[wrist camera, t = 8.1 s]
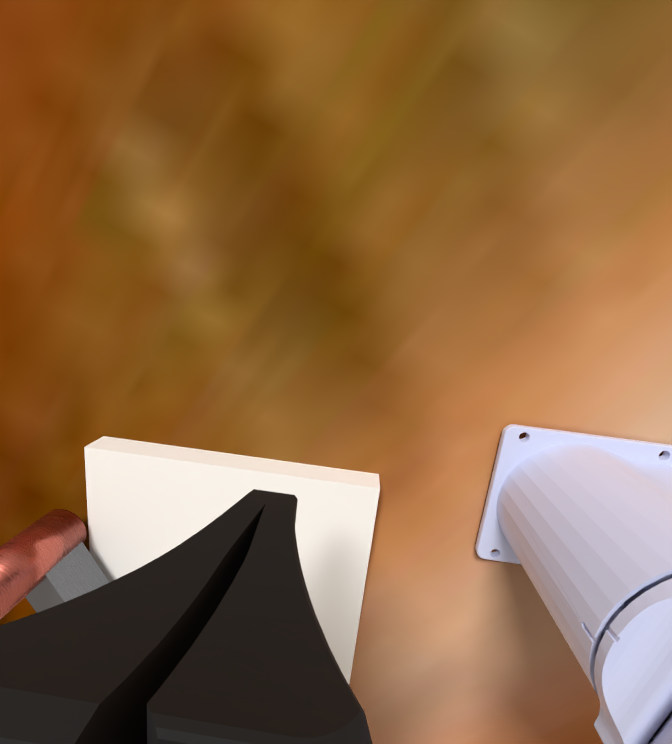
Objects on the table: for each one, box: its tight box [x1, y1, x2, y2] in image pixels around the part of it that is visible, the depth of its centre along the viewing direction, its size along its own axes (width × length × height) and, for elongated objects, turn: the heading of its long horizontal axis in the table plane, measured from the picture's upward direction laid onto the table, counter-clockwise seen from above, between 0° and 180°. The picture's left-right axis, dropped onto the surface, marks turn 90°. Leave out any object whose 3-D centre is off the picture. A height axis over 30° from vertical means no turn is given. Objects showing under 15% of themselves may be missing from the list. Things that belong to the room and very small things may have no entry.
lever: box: [0, 509, 109, 619], centre depth 19 cm, size 21×4×5 cm, turn 25°
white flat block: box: [84, 436, 380, 685], centre depth 21 cm, size 16×22×4 cm
